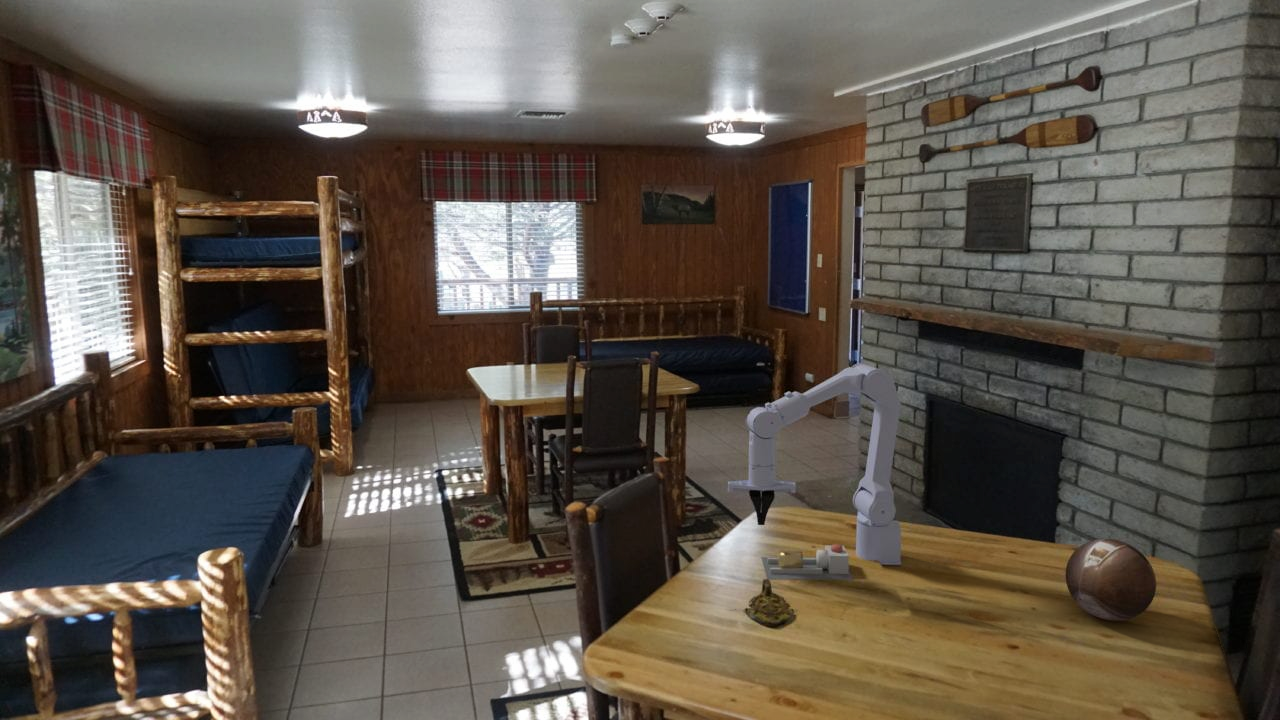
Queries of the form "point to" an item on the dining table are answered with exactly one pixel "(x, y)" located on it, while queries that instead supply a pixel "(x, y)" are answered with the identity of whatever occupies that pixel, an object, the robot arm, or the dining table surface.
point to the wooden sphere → (1110, 579)
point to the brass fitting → (790, 559)
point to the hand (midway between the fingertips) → (761, 523)
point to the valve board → (814, 566)
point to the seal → (769, 608)
